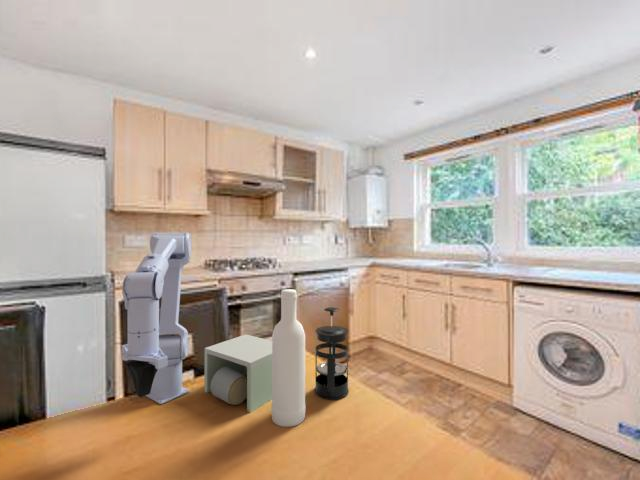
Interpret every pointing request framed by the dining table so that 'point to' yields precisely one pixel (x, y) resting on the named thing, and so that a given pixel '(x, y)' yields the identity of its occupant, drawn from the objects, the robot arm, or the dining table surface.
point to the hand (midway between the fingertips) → (143, 394)
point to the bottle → (288, 365)
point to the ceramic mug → (229, 386)
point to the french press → (331, 362)
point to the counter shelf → (243, 365)
